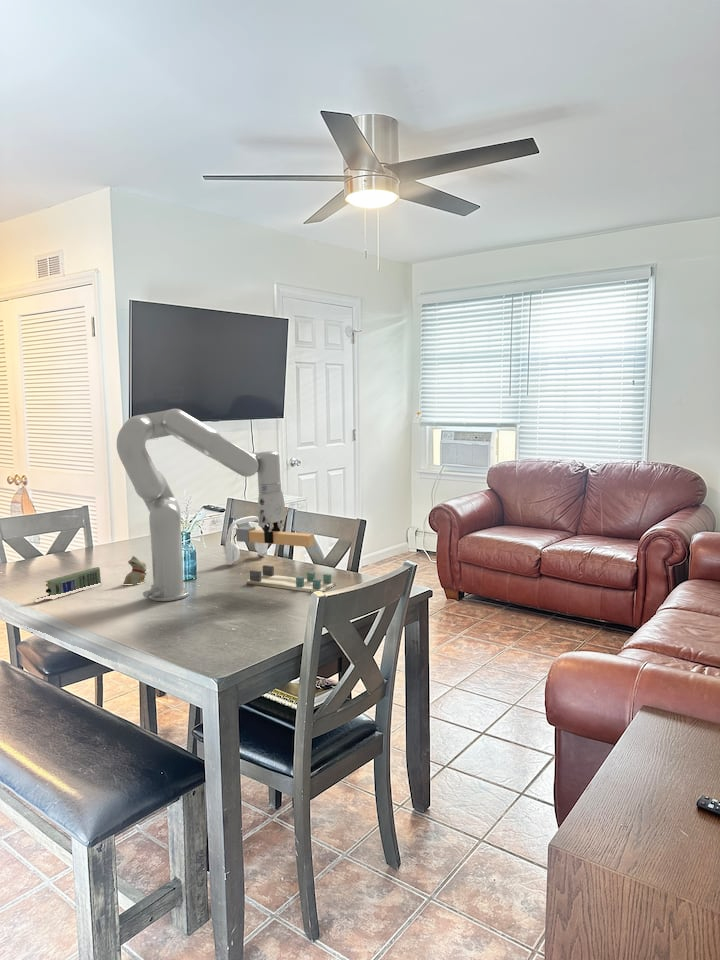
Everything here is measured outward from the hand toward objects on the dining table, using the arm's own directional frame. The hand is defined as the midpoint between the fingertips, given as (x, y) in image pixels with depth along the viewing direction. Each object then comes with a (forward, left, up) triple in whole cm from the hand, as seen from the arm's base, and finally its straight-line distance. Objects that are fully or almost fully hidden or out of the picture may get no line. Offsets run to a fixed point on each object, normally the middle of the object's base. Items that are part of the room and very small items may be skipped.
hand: (272, 541), depth 224 cm
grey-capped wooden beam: (0, -1, -1) cm, 1 cm away
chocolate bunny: (-16, +48, -16) cm, 53 cm away
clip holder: (+5, -4, -16) cm, 17 cm away
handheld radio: (-35, +59, -17) cm, 70 cm away
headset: (+27, +31, -16) cm, 44 cm away
